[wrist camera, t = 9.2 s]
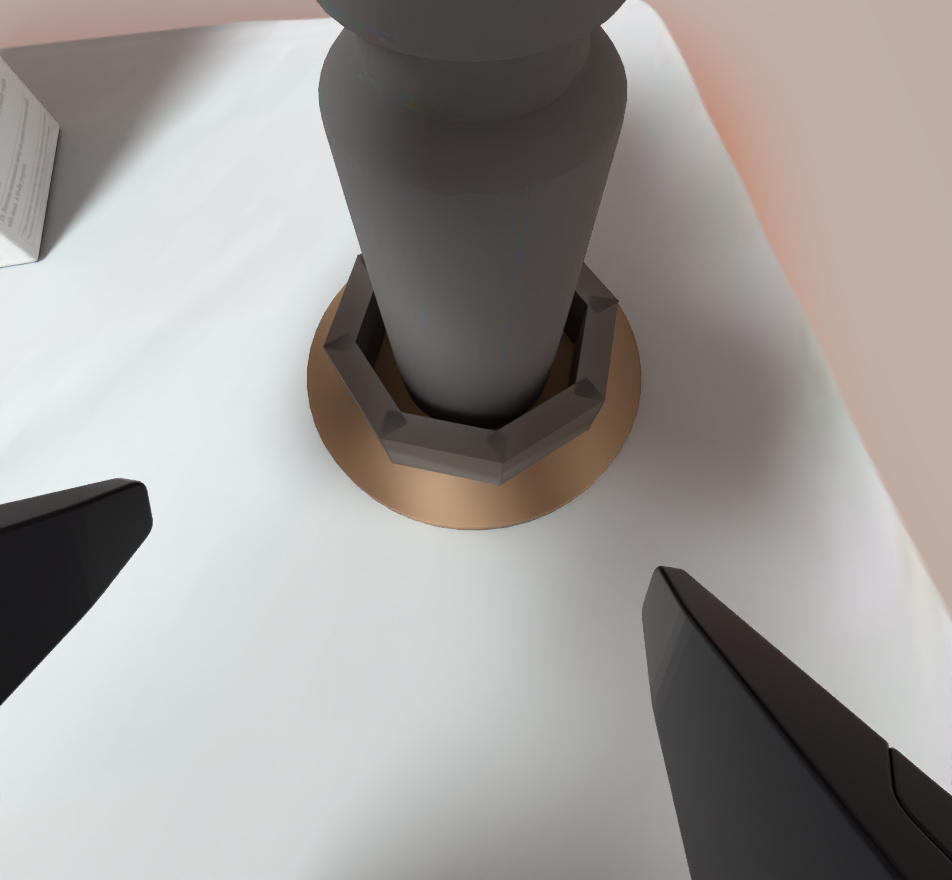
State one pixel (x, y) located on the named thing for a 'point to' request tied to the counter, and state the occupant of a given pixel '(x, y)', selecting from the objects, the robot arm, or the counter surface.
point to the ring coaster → (462, 494)
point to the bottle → (473, 181)
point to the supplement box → (23, 168)
